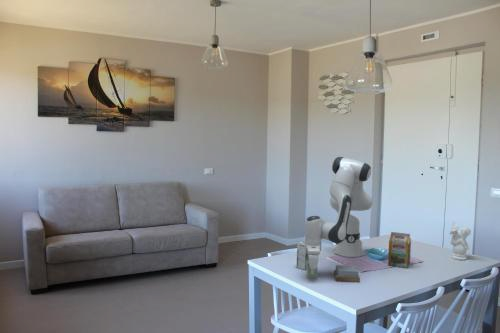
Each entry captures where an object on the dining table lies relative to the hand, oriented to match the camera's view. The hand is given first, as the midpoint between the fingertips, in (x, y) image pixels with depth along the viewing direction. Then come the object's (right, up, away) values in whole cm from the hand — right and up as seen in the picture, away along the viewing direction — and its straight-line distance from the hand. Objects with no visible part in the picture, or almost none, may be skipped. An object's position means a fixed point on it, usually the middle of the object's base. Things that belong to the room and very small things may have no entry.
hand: (312, 272), depth 237 cm
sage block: (0, -2, 0) cm, 2 cm away
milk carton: (+54, -1, +23) cm, 59 cm away
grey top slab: (+18, 0, -2) cm, 18 cm away
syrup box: (-3, -1, +14) cm, 15 cm away
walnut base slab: (+18, -3, -2) cm, 18 cm away
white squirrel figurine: (+94, -1, +37) cm, 102 cm away
